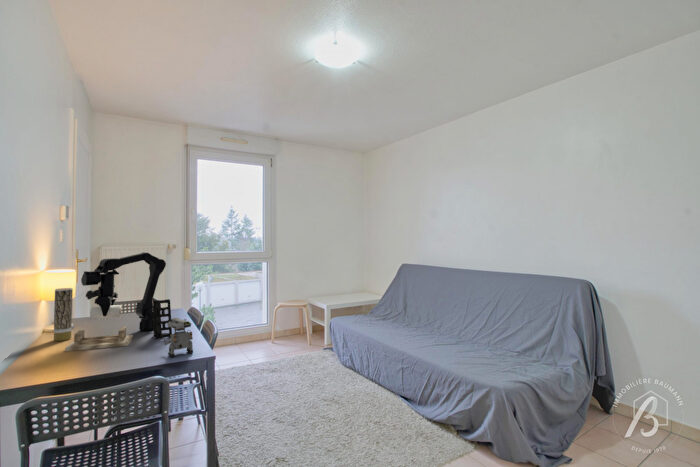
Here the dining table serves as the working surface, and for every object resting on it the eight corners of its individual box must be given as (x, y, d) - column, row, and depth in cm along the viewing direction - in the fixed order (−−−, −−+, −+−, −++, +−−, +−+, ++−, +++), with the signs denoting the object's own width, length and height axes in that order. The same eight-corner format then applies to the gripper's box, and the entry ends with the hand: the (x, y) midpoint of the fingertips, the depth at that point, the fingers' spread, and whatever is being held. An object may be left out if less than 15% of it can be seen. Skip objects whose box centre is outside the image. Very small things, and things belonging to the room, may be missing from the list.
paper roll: (121, 315, 183) (122, 304, 184) (119, 317, 178) (119, 305, 178) (93, 317, 179) (93, 305, 179) (89, 319, 173) (90, 307, 173)
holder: (176, 334, 185) (174, 297, 184) (168, 340, 178) (166, 300, 176) (157, 334, 186) (154, 296, 185) (147, 339, 179) (145, 300, 177)
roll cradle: (132, 337, 179) (133, 324, 180) (128, 345, 167) (128, 331, 167) (74, 343, 170) (74, 329, 170) (64, 351, 157) (65, 336, 157)
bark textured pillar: (61, 342, 171) (62, 290, 172) (49, 341, 172) (51, 289, 173) (74, 338, 178) (76, 288, 178) (63, 337, 179) (65, 287, 180)
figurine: (184, 348, 163) (185, 315, 163) (194, 354, 155) (195, 319, 155) (163, 352, 156) (163, 318, 157) (172, 359, 148) (173, 323, 149)
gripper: (93, 282, 184) (92, 312, 184) (82, 286, 167) (81, 320, 167) (118, 281, 189) (117, 311, 188) (110, 285, 171) (109, 318, 171)
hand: (106, 315), depth 178 cm, fingers closed on paper roll, 6 cm apart
